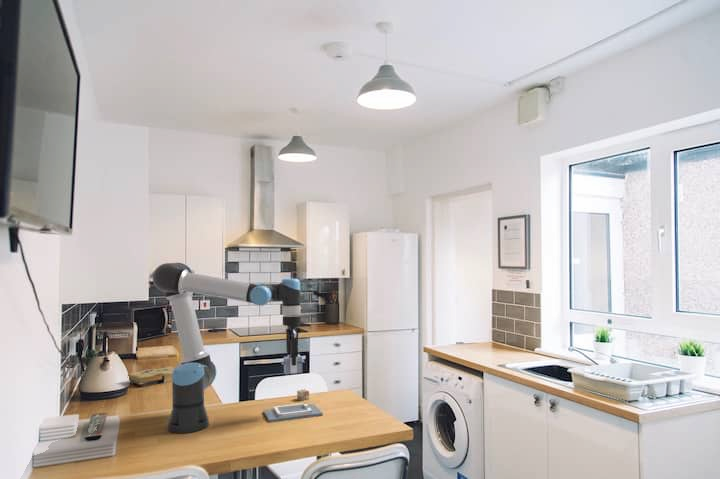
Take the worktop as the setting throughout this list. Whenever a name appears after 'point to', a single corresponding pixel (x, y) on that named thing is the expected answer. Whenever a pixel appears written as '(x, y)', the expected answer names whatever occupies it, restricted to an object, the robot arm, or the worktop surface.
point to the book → (152, 376)
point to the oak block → (303, 395)
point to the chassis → (292, 412)
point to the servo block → (287, 364)
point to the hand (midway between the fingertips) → (292, 371)
